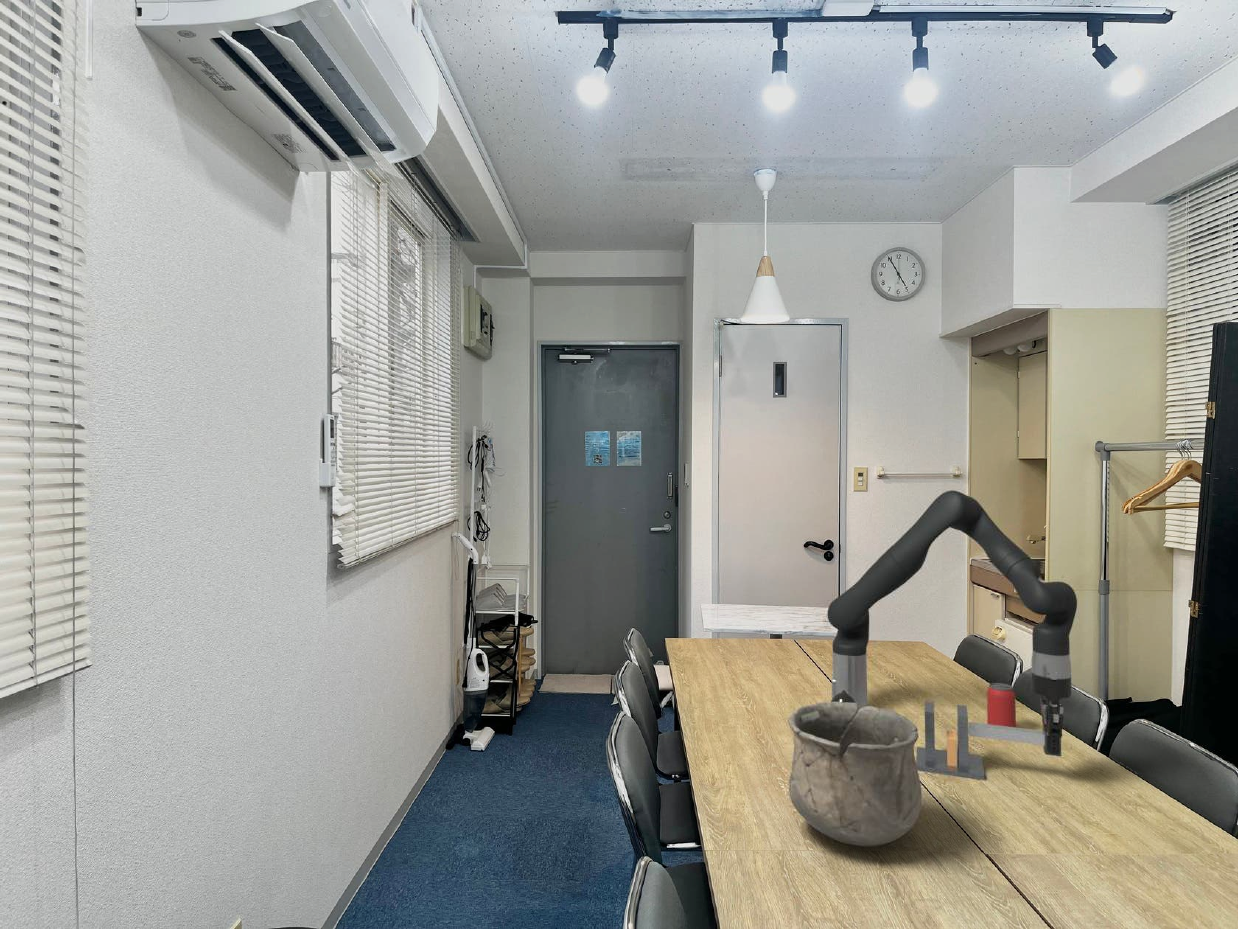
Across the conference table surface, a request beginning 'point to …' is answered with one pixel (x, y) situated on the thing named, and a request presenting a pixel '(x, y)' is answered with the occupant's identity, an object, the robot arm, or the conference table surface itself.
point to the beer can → (1001, 705)
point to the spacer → (951, 748)
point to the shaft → (1012, 734)
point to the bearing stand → (937, 759)
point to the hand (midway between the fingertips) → (1052, 749)
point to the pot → (855, 772)
